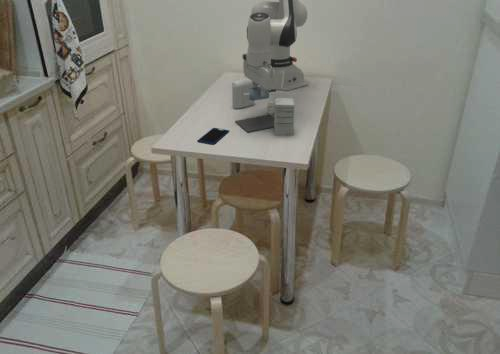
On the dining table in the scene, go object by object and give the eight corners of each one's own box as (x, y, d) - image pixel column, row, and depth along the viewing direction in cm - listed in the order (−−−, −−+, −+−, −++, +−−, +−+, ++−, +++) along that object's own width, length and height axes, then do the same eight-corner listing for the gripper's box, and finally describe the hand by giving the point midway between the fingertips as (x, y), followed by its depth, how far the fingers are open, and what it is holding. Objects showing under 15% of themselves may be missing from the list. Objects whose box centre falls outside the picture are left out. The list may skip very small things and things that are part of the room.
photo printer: (250, 102, 214) (250, 75, 208) (255, 105, 211) (255, 78, 204) (231, 107, 209) (230, 79, 203) (236, 110, 206) (235, 82, 200)
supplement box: (273, 128, 188) (274, 97, 182) (292, 128, 188) (293, 97, 182) (274, 135, 182) (274, 104, 176) (293, 135, 182) (294, 104, 176)
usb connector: (273, 93, 191) (273, 84, 189) (277, 96, 188) (277, 86, 186) (242, 99, 185) (242, 89, 183) (246, 101, 183) (246, 91, 181)
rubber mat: (269, 115, 200) (269, 114, 199) (283, 125, 190) (283, 124, 190) (234, 122, 194) (234, 120, 193) (247, 132, 184) (247, 131, 184)
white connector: (267, 108, 207) (267, 102, 205) (274, 108, 206) (274, 102, 205) (266, 117, 198) (266, 110, 197) (274, 117, 198) (274, 110, 197)
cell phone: (230, 132, 186) (230, 130, 186) (213, 146, 175) (213, 144, 175) (213, 129, 189) (213, 127, 188) (196, 142, 178) (196, 141, 177)
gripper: (280, 64, 172) (279, 100, 179) (254, 51, 188) (254, 85, 195) (264, 66, 170) (264, 103, 176) (240, 53, 186) (240, 87, 192)
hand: (259, 94), depth 186 cm, fingers closed on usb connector, 4 cm apart
